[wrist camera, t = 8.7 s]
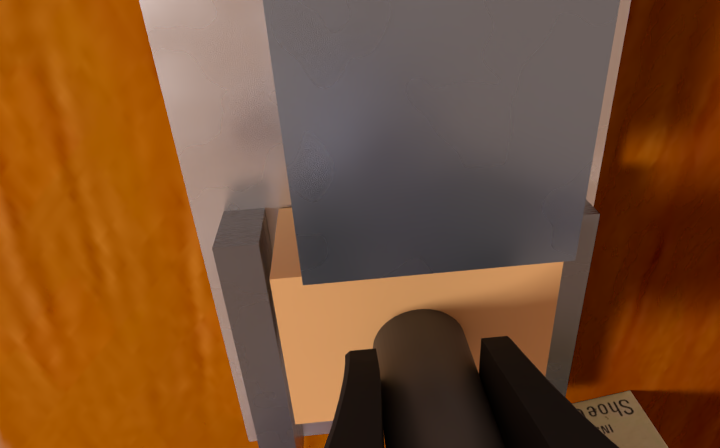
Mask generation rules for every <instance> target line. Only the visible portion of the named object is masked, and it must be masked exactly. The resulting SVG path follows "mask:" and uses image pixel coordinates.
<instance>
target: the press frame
mask: <svg viewBox="0 0 720 448" xmlns="http://www.w3.org/2000/svg"><path fill="white" fill-rule="evenodd" d="M139 2H140V6H141V10H142V14H143V18H144V22H145V26H146V30H147V34H148V38H149V42H150V46H151V50H152V54H153V58H154V62H155V66H156V70H157V74H158V78H159V82H160V86H161V90H162V94H163V98H164V102H165V106H166V110H167V114H168V118H169V122H170V126H171V130H172V134H173V138H174V142H175V146H176V150H177V154H178V158H179V162H180V166H181V170H182V174H183V178H184V182H185V186H186V190H187V194H188V198H189V202H190V206H191V210H192V214H193V218H194V222H195V226H196V231H197V235H198V239H199V243H200V247H201V251H202V255H203V259H204V263H205V267H206V271H207V275H208V279H209V283H210V287H211V291H212V295H213V299H214V303H215V307H216V311H217V315H218V319H219V323H220V327H221V331H222V335H223V339H224V343H225V347H226V351H227V355H228V359H229V363H230V367H231V371H232V375H233V379H234V383H235V387H236V391H237V395H238V399H239V403H240V407H241V411H242V415H243V419H244V423H245V427H246V431H247V435H248V439H249V441H258V445H259V448H303V446H304V436H308V435H318V434H328V433H330V429H331V426H332V423H333V421H325V422H315V423H305V424H295V419H294V414H293V408H292V403H291V397H290V391H289V386H288V380H287V375H286V369H285V363H284V358H283V352H282V347H281V341H280V336H279V330H278V324H277V319H276V313H275V308H274V302H273V296H272V291H271V285H270V280H269V279H270V272H271V264H272V256H273V248H274V240H275V233H276V225H277V217H278V209H280V208H292V205H291V198H290V191H289V184H288V177H287V170H286V163H285V156H284V149H283V141H282V134H281V127H280V120H279V113H278V106H277V99H276V92H275V85H274V78H273V71H272V64H271V56H270V49H269V42H268V35H267V28H266V21H265V14H264V7H263V0H139ZM630 4H631V0H620V5H619V10H618V16H617V22H616V28H615V34H614V39H613V45H612V51H611V57H610V62H609V68H608V74H607V80H606V86H605V91H604V97H603V103H602V109H601V115H600V120H599V126H598V132H597V138H596V144H595V149H594V155H593V161H592V167H591V172H590V178H589V184H588V190H587V196H586V201H585V207H584V213H583V219H582V225H581V230H580V236H579V242H578V248H577V254H576V259H575V261H564V262H563V269H562V275H561V281H560V288H559V294H558V300H557V306H556V313H555V319H554V325H553V331H552V338H551V344H550V350H549V357H548V363H547V369H546V375H545V377H546V378H547V379H548V380H549V381H550V382H551V383H552V384H553V385H554V386H555V388H556V389H557V390H558V391H559V392H560V393H561V394H562V395H563V396H564V397H565V396H566V390H567V385H568V380H569V375H570V369H571V364H572V359H573V354H574V348H575V343H576V338H577V333H578V327H579V322H580V317H581V312H582V306H583V301H584V296H585V291H586V285H587V280H588V275H589V270H590V264H591V259H592V254H593V249H594V243H595V238H596V233H597V228H598V222H599V217H600V213H599V212H598V211H597V210H596V209H595V208H594V202H595V196H596V191H597V185H598V180H599V174H600V169H601V163H602V158H603V152H604V147H605V141H606V136H607V130H608V125H609V120H610V114H611V109H612V103H613V98H614V92H615V87H616V81H617V76H618V70H619V65H620V59H621V54H622V48H623V43H624V37H625V32H626V26H627V21H628V15H629V10H630Z"/></svg>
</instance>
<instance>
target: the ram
mask: <svg viewBox="0 0 720 448" xmlns="http://www.w3.org/2000/svg"><path fill="white" fill-rule="evenodd" d="M562 269H563V262H553V263H542V264H532V265H521V266H510V267H499V268H488V269H477V270H466V271H455V272H444V273H433V274H422V275H411V276H400V277H390V278H379V279H368V280H357V281H346V282H335V283H324V284H313V285H303V283H302V276H301V269H300V262H299V255H298V248H297V241H296V234H295V227H294V219H293V212H292V208H280V209H278V217H277V225H276V233H275V240H274V248H273V256H272V264H271V272H270V279H269V280H270V285H271V291H272V296H273V302H274V308H275V313H276V319H277V324H278V330H279V336H280V341H281V347H282V352H283V358H284V363H285V369H286V375H287V380H288V386H289V391H290V397H291V403H292V408H293V414H294V419H295V424H305V423H315V422H325V421H333V419H334V415H335V412H336V408H337V405H338V401H339V397H340V392H341V387H342V382H343V377H344V369H345V355H346V354H347V353H348V352H349V351H353V350H364V349H374V348H376V351H377V357H378V362H379V368H380V378H381V396H382V414H383V430H384V438H385V445H386V448H505V446H504V443H503V440H502V437H501V434H500V432H499V429H498V426H497V423H496V420H495V418H494V415H493V412H492V409H491V407H490V404H489V401H488V398H487V395H486V393H485V390H484V387H483V384H482V381H481V379H480V376H479V362H480V349H481V338H489V337H500V336H508V337H509V338H510V339H512V341H513V342H514V343H515V344H516V345H517V346H518V347H519V348H520V350H521V351H522V352H523V353H524V354H525V355H526V356H527V357H528V359H529V360H530V361H531V362H532V363H533V364H534V365H535V366H536V367H537V368H538V370H539V371H540V372H541V373H542V374H543V375H544V376H545V375H546V369H547V363H548V357H549V350H550V344H551V338H552V331H553V325H554V319H555V313H556V306H557V300H558V294H559V288H560V281H561V275H562Z"/></svg>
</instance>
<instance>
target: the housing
mask: <svg viewBox="0 0 720 448" xmlns="http://www.w3.org/2000/svg"><path fill="white" fill-rule="evenodd" d="M619 5H620V0H263V7H264V14H265V21H266V28H267V35H268V42H269V49H270V56H271V64H272V71H273V78H274V85H275V92H276V99H277V106H278V113H279V120H280V127H281V134H282V141H283V149H284V156H285V163H286V170H287V177H288V184H289V191H290V198H291V205H292V212H293V219H294V227H295V234H296V241H297V248H298V255H299V262H300V269H301V276H302V283H303V285H313V284H324V283H335V282H346V281H357V280H368V279H379V278H390V277H400V276H411V275H422V274H433V273H444V272H455V271H466V270H477V269H488V268H499V267H510V266H521V265H532V264H542V263H553V262H564V261H575V259H576V254H577V248H578V242H579V236H580V230H581V225H582V219H583V213H584V207H585V201H586V196H587V190H588V184H589V178H590V172H591V167H592V161H593V155H594V149H595V144H596V138H597V132H598V126H599V120H600V115H601V109H602V103H603V97H604V91H605V86H606V80H607V74H608V68H609V62H610V57H611V51H612V45H613V39H614V34H615V28H616V22H617V16H618V10H619Z"/></svg>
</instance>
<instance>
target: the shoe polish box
mask: <svg viewBox="0 0 720 448" xmlns="http://www.w3.org/2000/svg"><path fill="white" fill-rule="evenodd" d="M572 405H573V406H574V407H575V408H576V409H577V410H579V411H580V412H581V413H582V414H583V415H584V416H585V417H586V418H587V419H588V420H589V421H590V422H591V423H592V424H593V425H595V426H596V427H597V428H598V429H599V430H600V431H601V432H602V433H603V434H605V435H606V436H607V437H608V438H609V439H610V440H611V441H612V442H614V443H615V444H616V445H617V446H618V447H619V448H668V446H667V445H666V443H665V442H664V440H663V439H662V437H661V436H660V434H659V433H658V431H657V430H656V428H655V427H654V425H653V424H652V422H651V421H650V419H649V418H648V416H647V415H646V413H645V412H644V410H643V409H642V407H641V406H640V404H639V403H638V401H637V400H636V398H635V397H634V395H633V394H632V392H631V391H626V392H621V393H617V394H612V395H608V396H604V397H599V398H595V399H591V400H586V401H582V402H578V403H573V404H572Z"/></svg>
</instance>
